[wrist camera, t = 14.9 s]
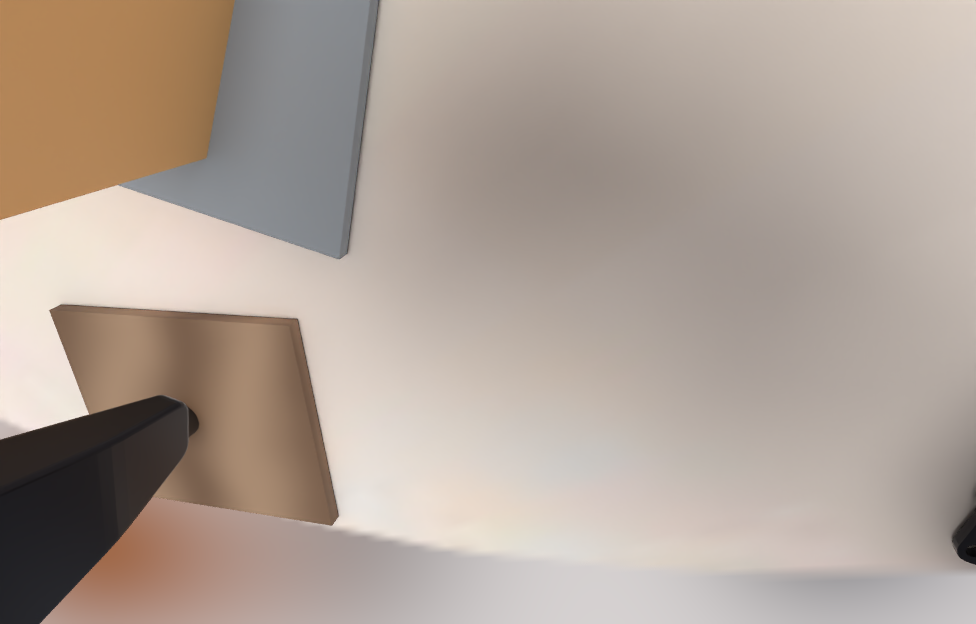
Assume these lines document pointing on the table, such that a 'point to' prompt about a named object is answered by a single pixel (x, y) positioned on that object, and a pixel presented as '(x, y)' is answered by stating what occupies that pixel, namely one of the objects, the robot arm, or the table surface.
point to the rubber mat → (284, 124)
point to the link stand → (213, 401)
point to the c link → (104, 93)
